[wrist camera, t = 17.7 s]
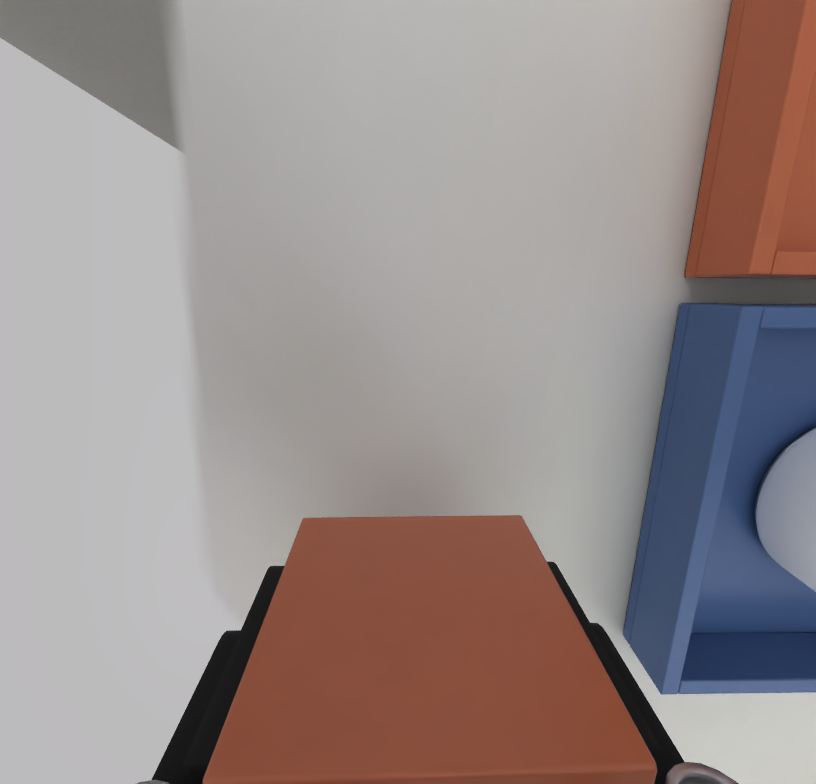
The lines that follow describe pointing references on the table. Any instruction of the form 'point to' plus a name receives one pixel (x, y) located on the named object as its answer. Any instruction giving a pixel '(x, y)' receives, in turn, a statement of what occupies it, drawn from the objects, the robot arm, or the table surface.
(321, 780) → the block
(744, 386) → the blue tray
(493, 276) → the table surface
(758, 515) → the can
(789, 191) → the terracotta tray
